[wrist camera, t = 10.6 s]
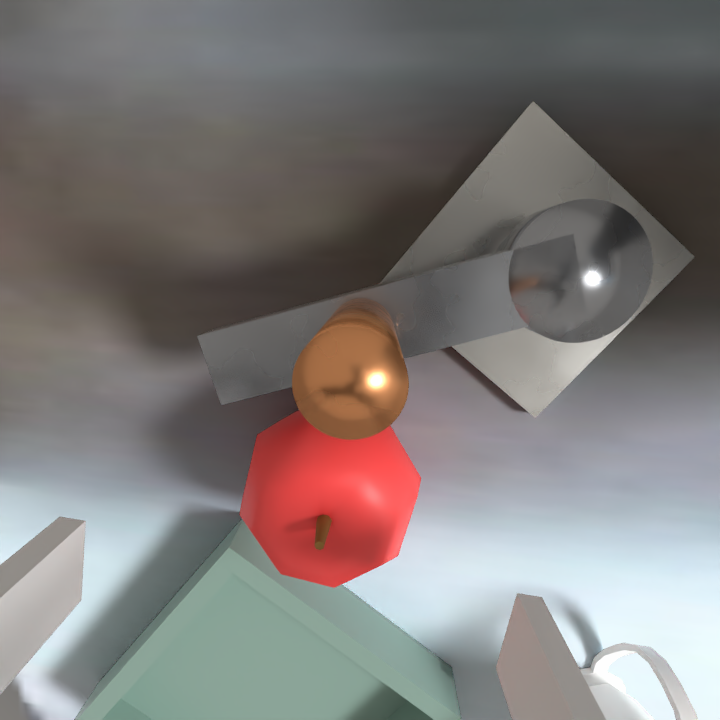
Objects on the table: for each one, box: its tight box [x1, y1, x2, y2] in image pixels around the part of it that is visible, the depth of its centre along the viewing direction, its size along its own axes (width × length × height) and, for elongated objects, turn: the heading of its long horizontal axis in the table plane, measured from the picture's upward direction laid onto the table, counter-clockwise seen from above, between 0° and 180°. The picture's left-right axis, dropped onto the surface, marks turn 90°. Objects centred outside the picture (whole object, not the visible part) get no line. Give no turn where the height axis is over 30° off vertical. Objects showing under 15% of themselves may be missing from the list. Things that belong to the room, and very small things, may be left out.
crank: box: [197, 199, 653, 440], centre depth 14 cm, size 16×5×10 cm, turn 105°
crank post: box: [379, 101, 694, 418], centre depth 20 cm, size 10×10×3 cm
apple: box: [239, 410, 421, 588], centre depth 20 cm, size 8×8×8 cm
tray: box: [74, 519, 461, 720], centre depth 25 cm, size 15×15×3 cm
